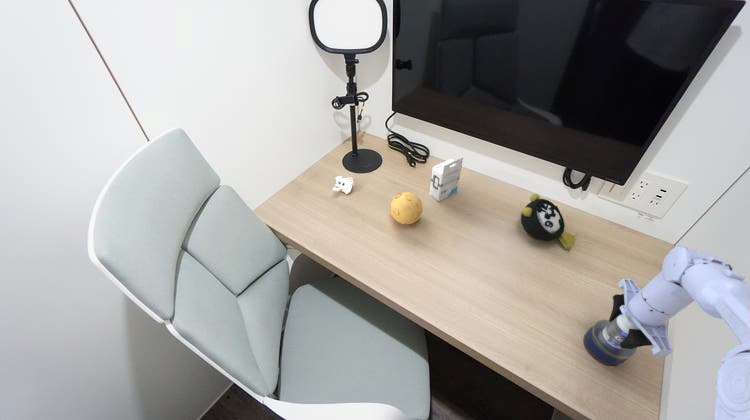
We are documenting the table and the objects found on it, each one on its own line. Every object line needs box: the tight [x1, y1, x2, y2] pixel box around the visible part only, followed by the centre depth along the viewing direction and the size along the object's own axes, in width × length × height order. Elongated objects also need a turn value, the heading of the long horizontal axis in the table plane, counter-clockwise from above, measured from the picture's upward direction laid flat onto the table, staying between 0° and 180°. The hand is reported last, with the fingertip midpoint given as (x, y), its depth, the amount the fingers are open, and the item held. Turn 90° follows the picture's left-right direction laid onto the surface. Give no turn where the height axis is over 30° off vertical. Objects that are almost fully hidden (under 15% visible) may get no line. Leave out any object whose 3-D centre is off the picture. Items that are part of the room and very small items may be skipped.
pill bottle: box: [603, 314, 640, 349], centre depth 63 cm, size 5×5×8 cm
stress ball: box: [390, 191, 424, 225], centre depth 96 cm, size 10×10×10 cm
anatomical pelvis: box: [332, 175, 354, 195], centre depth 110 cm, size 8×4×7 cm
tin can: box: [582, 319, 638, 367], centre depth 68 cm, size 8×8×5 cm
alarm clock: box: [520, 193, 576, 250], centre depth 90 cm, size 12×15×15 cm
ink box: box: [429, 157, 464, 202], centre depth 103 cm, size 8×5×15 cm, turn 124°
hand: (619, 333), depth 65 cm, fingers closed on pill bottle, 5 cm apart
